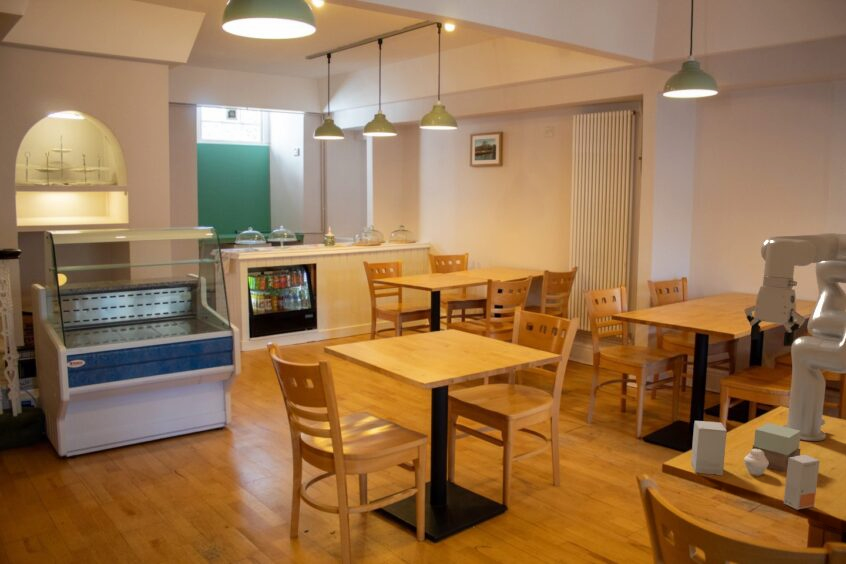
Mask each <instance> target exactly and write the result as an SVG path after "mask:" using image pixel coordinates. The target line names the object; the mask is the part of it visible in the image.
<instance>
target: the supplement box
mask: <svg viewBox="0 0 846 564" xmlns="http://www.w3.org/2000/svg"><path fill="white" fill-rule="evenodd" d="M726 443H727V429H726V428H725V426H724V425H723V423H722V422H718V421H717V422H716V421H705V420H704V421H702V420H694V423H693V435H692V444H691V445H692V447H691V459H690V464H691V467H692V468H693V470H694V473H699V474H705V475H707V474H708V475H714V474H716V475H717V476H723V475H724V466H725V453H726ZM716 475H715V476H716Z"/></svg>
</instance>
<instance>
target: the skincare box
mask: <svg viewBox="0 0 846 564" xmlns="http://www.w3.org/2000/svg"><path fill="white" fill-rule="evenodd" d="M820 461H821V460H819V459H817V458H814V457H812V456H809V455H808V454H804V455H803V454H802V455H800V456H795V457H790V458H789V459H788V468H787V470H786V479H785V487H784V495H783V504H784V505H787V506H789V507H790V508H793V509H795V510H797V511H798V510H803V509H807V508H813V507H815V502H816V494H817V487H818V486H817V485H818V476H819V469H820Z"/></svg>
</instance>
